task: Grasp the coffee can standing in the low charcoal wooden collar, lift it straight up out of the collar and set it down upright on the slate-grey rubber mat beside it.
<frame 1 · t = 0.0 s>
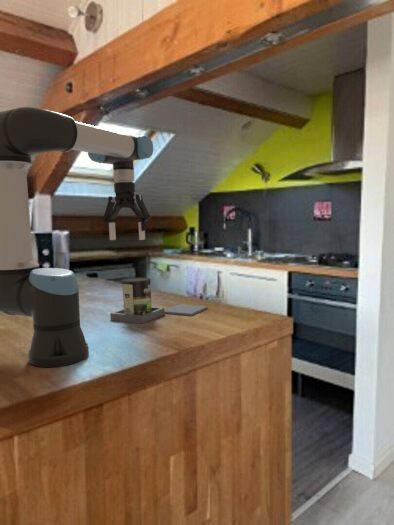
hand: (127, 240, 159), 28 cm above the table, fingers open, 13 cm apart
slate mat: (184, 310, 163), on the table
collar: (138, 317, 155), on the table
coffee can: (138, 317, 155), resting in collar
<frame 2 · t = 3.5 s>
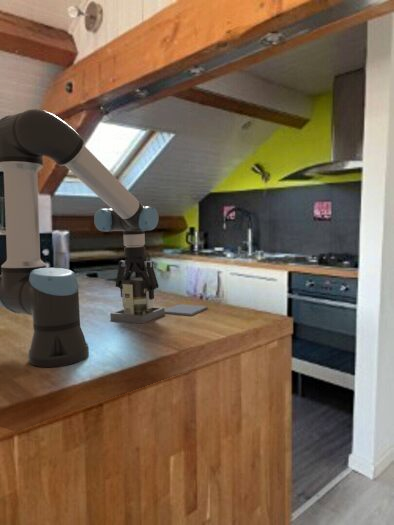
hand: (137, 307, 155), 4 cm above the table, fingers closed on coffee can, 10 cm apart
coffee can: (138, 317, 155), resting in collar, touching gripper
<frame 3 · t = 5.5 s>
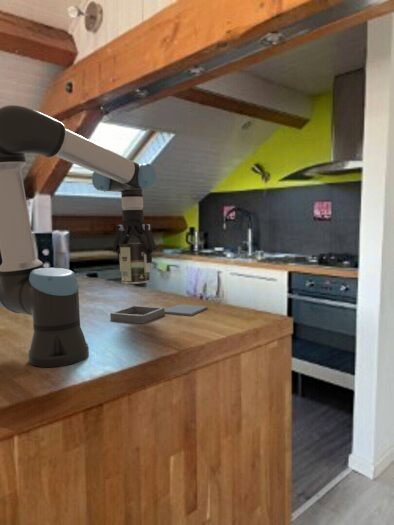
hand: (135, 271, 153), 17 cm above the table, fingers closed on coffee can, 10 cm apart
coffee can: (135, 282, 153), point 13 cm above the table, touching gripper
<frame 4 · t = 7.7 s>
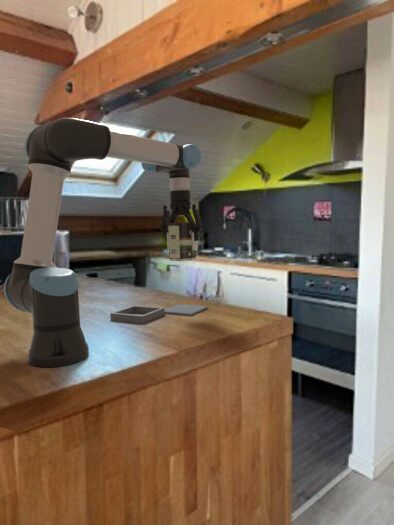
hand: (182, 249, 160), 24 cm above the table, fingers closed on coffee can, 10 cm apart
coffee can: (182, 260, 161), point 20 cm above the table, touching gripper
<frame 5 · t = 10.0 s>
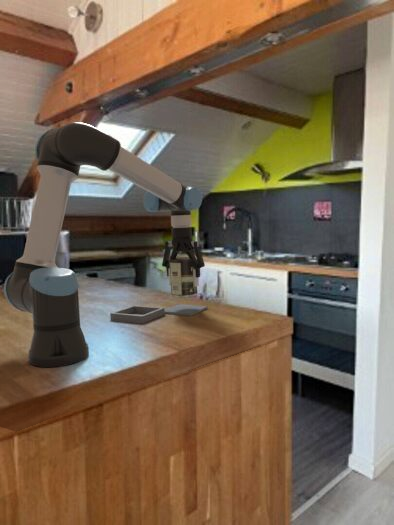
hand: (183, 285, 162), 10 cm above the table, fingers closed on coffee can, 10 cm apart
coffee can: (184, 295, 163), point 6 cm above the table, touching gripper
when the fingers open (6 cm above the table, at t = 11.9 s): coffee can drops 1 cm, resting on slate mat.
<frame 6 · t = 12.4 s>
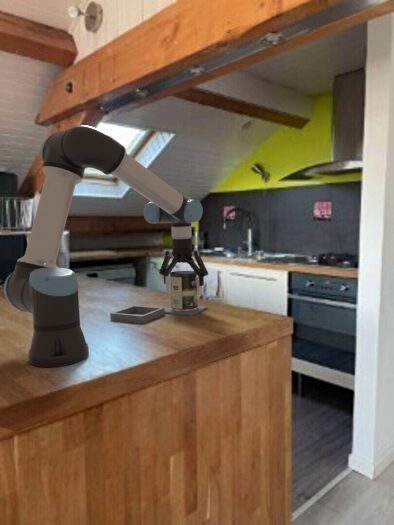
hand: (183, 293, 162), 7 cm above the table, fingers open, 13 cm apart
coffee can: (184, 309, 163), point 1 cm above the table, touching slate mat
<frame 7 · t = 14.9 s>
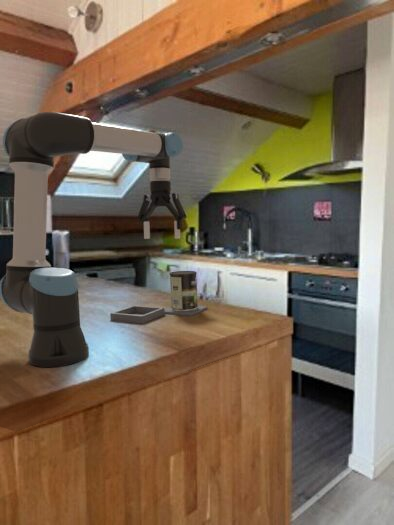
hand: (162, 238, 158), 28 cm above the table, fingers open, 13 cm apart
nothing on the table moved.
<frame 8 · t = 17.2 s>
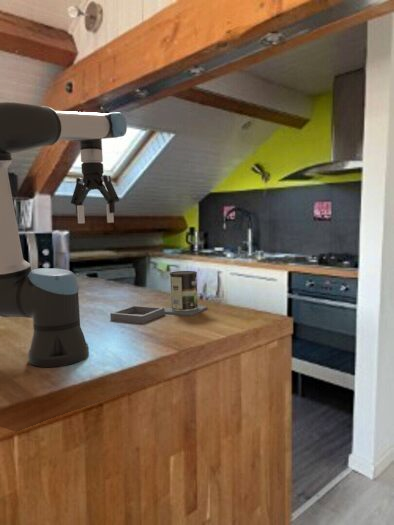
hand: (95, 223, 153), 35 cm above the table, fingers open, 13 cm apart
nothing on the table moved.
at the end: coffee can inside the target area on the slate mat (0.1 cm from its centre), point 0.6 cm above the slate mat's base; coffee can tilted 0°; the gripper is holding nothing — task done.
